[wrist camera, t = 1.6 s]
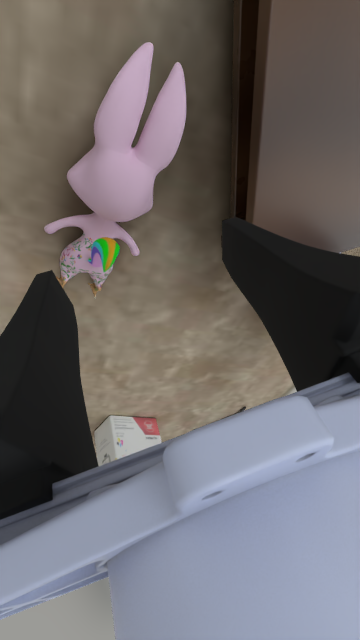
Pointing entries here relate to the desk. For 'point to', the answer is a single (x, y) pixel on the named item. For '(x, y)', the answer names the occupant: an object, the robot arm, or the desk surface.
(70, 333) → the robot arm
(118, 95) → the rabbit figure
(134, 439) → the ink cartridge box
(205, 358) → the desk surface
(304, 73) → the rack
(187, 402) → the desk surface
